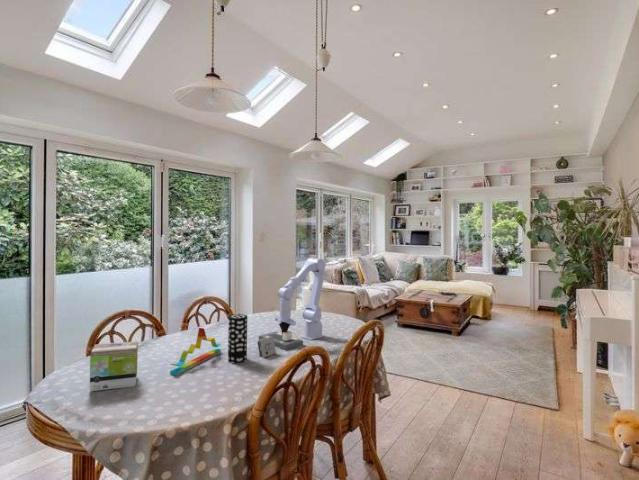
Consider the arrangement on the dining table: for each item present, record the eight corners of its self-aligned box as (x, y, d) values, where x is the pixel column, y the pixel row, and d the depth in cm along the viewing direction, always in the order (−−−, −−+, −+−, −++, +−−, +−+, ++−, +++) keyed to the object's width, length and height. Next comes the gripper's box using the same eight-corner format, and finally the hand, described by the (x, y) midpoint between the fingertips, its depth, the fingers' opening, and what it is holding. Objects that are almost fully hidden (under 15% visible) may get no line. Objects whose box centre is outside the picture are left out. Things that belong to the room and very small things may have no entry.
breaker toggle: (288, 337, 193) (288, 330, 192) (292, 339, 190) (292, 332, 190) (282, 339, 190) (282, 332, 190) (286, 340, 188) (286, 333, 187)
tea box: (89, 393, 131) (89, 352, 131) (93, 382, 140) (93, 343, 140) (136, 386, 137) (136, 347, 137) (137, 376, 146) (138, 339, 146)
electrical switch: (263, 358, 170) (262, 340, 170) (256, 357, 173) (255, 339, 173) (276, 353, 177) (275, 336, 177) (269, 352, 180) (268, 335, 180)
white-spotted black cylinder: (250, 358, 169) (250, 315, 169) (240, 364, 162) (241, 319, 161) (234, 356, 172) (235, 313, 172) (224, 362, 164) (224, 317, 164)
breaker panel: (276, 336, 206) (276, 331, 206) (303, 345, 190) (303, 340, 190) (258, 340, 197) (258, 335, 197) (285, 350, 182) (285, 345, 182)
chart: (176, 376, 148) (177, 339, 148) (170, 375, 149) (170, 338, 149) (221, 353, 177) (221, 322, 176) (215, 352, 178) (216, 321, 177)
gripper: (270, 309, 193) (269, 334, 194) (288, 314, 183) (287, 341, 184) (280, 307, 198) (280, 332, 199) (298, 312, 188) (298, 338, 189)
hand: (284, 336), depth 191 cm, fingers closed, pressing on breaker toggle
